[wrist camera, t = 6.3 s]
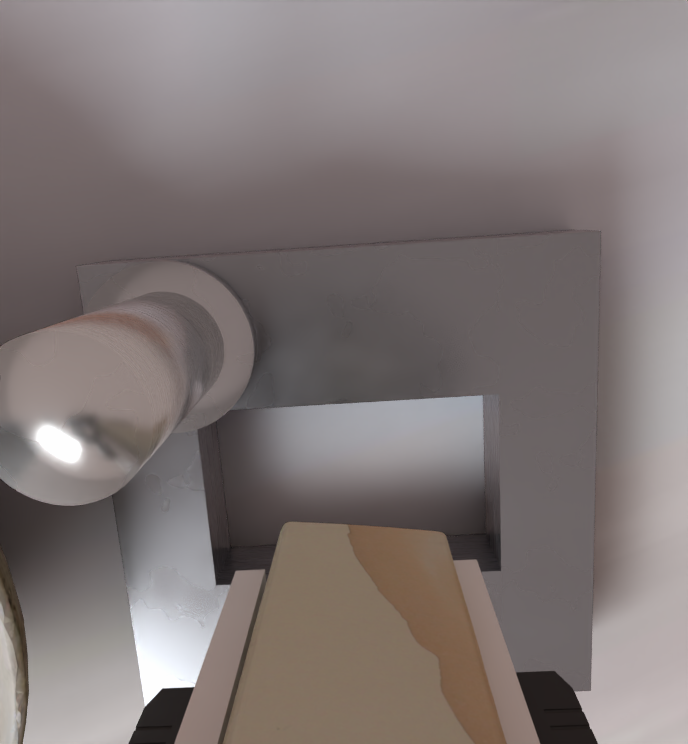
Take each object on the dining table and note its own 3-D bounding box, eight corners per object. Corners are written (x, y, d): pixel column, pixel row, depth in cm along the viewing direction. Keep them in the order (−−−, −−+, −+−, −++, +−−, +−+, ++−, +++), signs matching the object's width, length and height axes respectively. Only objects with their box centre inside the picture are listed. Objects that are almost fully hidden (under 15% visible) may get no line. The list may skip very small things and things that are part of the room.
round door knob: (129, 408, 27) (-47, 553, 15) (108, 260, 25) (-105, 293, 14) (274, 399, 26) (210, 539, 15) (260, 250, 25) (178, 274, 13)
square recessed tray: (166, 662, 29) (145, 710, 26) (108, 260, 25) (76, 266, 22) (566, 643, 29) (590, 690, 26) (571, 230, 25) (601, 230, 22)
